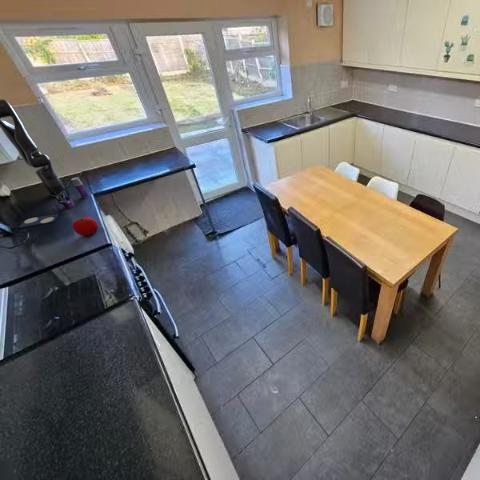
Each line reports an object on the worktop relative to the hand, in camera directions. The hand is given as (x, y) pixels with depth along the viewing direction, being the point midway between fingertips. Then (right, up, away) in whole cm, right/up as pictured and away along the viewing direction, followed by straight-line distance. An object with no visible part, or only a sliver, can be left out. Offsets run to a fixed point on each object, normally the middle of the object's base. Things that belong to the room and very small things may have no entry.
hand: (69, 205), depth 195 cm
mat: (-6, -12, -14) cm, 20 cm away
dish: (0, -1, +1) cm, 1 cm away
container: (+2, +8, +12) cm, 15 cm away
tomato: (+39, -21, -27) cm, 52 cm away
